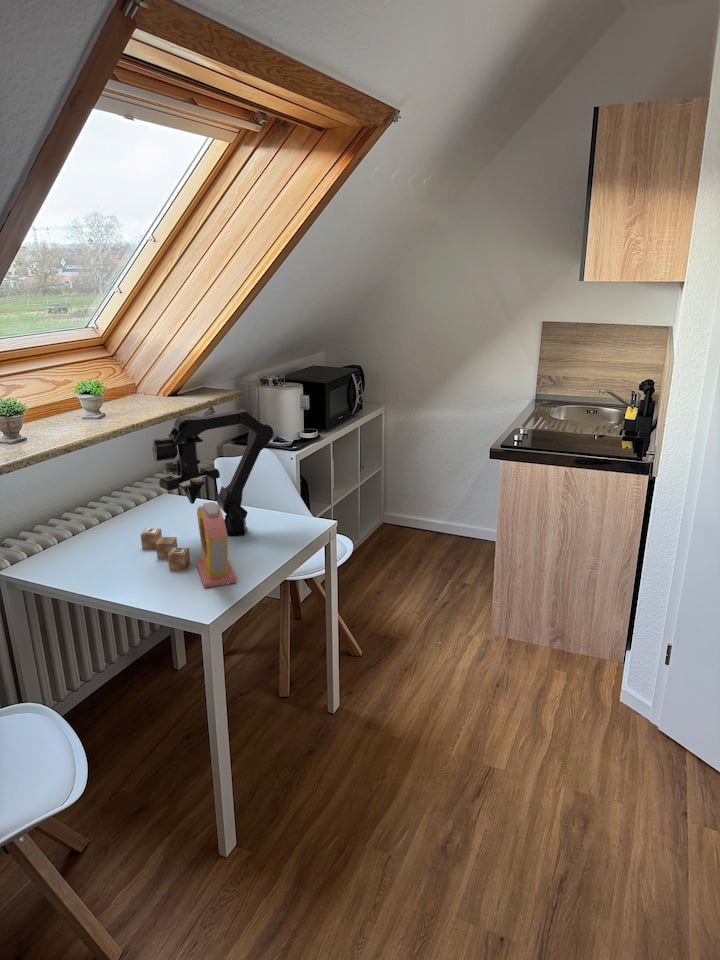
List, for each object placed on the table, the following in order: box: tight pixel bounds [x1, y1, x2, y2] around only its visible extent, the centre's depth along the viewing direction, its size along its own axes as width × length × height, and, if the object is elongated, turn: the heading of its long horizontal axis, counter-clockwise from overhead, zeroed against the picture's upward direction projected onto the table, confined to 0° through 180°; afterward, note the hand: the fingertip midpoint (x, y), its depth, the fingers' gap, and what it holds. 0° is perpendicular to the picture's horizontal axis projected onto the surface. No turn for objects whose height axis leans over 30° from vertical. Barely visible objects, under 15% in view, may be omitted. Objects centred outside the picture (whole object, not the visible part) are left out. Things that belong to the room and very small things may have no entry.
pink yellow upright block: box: [195, 501, 238, 589], centre depth 200 cm, size 22×9×22 cm, turn 21°
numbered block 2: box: [167, 547, 191, 571], centre depth 207 cm, size 5×5×5 cm
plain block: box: [155, 536, 179, 559], centre depth 215 cm, size 5×5×5 cm
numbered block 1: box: [140, 527, 163, 550], centre depth 222 cm, size 5×5×5 cm
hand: (192, 503), depth 222 cm, fingers closed
